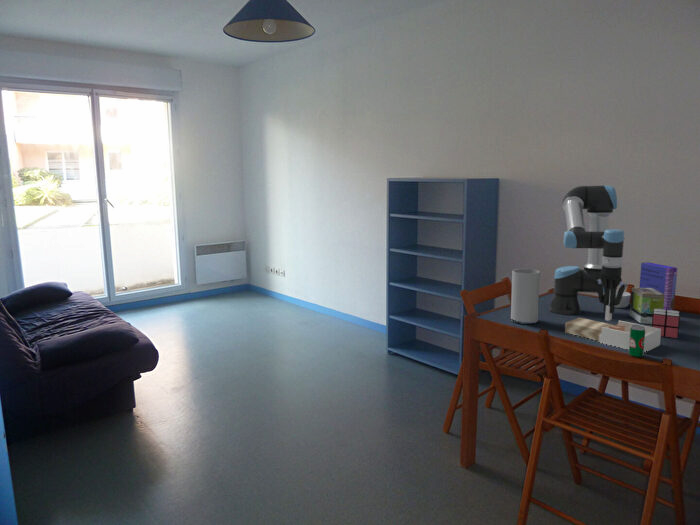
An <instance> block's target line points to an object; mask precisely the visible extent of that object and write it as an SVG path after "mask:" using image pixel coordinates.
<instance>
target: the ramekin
mask: <svg viewBox="0 0 700 525" xmlns="http://www.w3.org/2000/svg"><path fill="white" fill-rule="evenodd" d="M617 293H618V290H616V296H617ZM630 302H631V293H629V292H627V291H624V292H623V295H622V298H621V301H620V304H619V305H616V306H614V309H615V308H616V309H624V308H627V307H629V304H630ZM609 304H610V296H609ZM609 304H608V305H609Z"/></svg>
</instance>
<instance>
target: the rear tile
mask: <svg viewBox="0 0 700 525" xmlns="http://www.w3.org/2000/svg"><path fill="white" fill-rule="evenodd" d="M613 325H614V326H612V327H611V329H614V330H619V331H623V332H625V325H620V324H618V323H617V324H613Z"/></svg>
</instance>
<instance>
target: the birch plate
mask: <svg viewBox="0 0 700 525" xmlns="http://www.w3.org/2000/svg"><path fill="white" fill-rule="evenodd" d="M614 325H615V324H612V323H607V322H602V321H596V320H594V319H593V320H592V319H589V318H588V319H587V318H584V317H577V318H575V319H574V318H573V319H572V320H569V321H566V322H565V326H564V334H566V333H569V334H568V335H570V334H573V335H572V336H574V335H578V336H577V337H579V336H581V337H580V338H583V337H585V338H584V339H587V338H589V339H588V340H591V339H593V340H592V341H595V340H597V341H596V342H599V335H600V334H601V331H602V327H605V328H610V329H611V327H612V326H614Z"/></svg>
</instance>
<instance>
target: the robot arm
mask: <svg viewBox="0 0 700 525" xmlns="http://www.w3.org/2000/svg"><path fill="white" fill-rule="evenodd" d="M561 203H562V204H561V206H562V210H563V211H564V212H565V213H564V214H565V219H566V230H567V231H564V233H563V246H564V247H565V248H566V249H567V248H568V249H588V251H587V252H588V253H587V262H586V264H584V265H583V269H581V268H580V266H577V265H576V266H575V265H567V266H561V267H558V268H556V269H555V270H554V284H553V286H554V287H553V297H552V299H551V302H550V304H549V311H550V312H551V313H555V314H558V315H559V314H560V315H578V314H581V312H582V306H581V303H580V300H579V293H593V294H594V293H595V294H598V301H599V303H600V304H602V305H603V312H604V321H607V322H608V321H612V318H613V317H612V316H613V314H614V313H615V308H614V306H616V305H619V304H620V301H621V298H622V295H623V292H625V289H626V288H627V287H628V284H627V283H625V282H623V280H622V269H623V268H622V266H623V254H624V252H623V251H624V240H625V232H624V230H622V229H618V228H617V229H616V228H613V229H612V228H611V229H609V225H610V224H609V223H610V216H611V215H612V214H613V212H614V210H616V209H617V207H618V197H617V192H616V188H615V187H614V186H613V185H605V184H603V185H580V186H575V187H574V188H572V189H570V190H569V191H568V192H567V193H566V194H565V195H564V197H563V199H562V202H561ZM583 210H586V214H588V215H589V230H588V231H587V230H586V224H585V219H584V218H585V217H584V212H583ZM618 286H619V288H618ZM617 289H618V290H617ZM616 291H618V293H617V296H616ZM609 296H610V304H609ZM608 304H609V305H608Z"/></svg>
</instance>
